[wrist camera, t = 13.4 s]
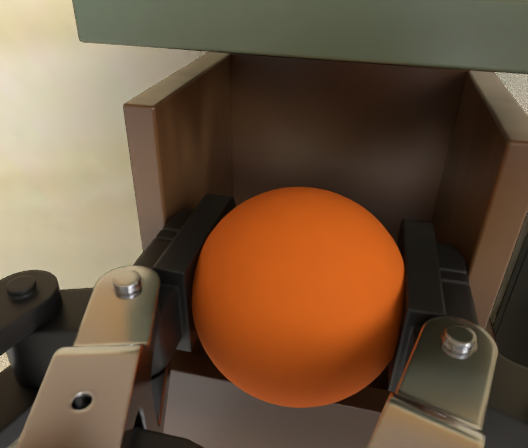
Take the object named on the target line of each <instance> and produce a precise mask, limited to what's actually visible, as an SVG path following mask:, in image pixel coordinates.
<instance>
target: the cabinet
mask: <svg viewBox="0 0 528 448" xmlns="http://www.w3.org/2000/svg"><path fill="white" fill-rule="evenodd" d="M485 331H486V332H488V333H489V335H490V336H491V337H492V338H493V340H494V341H495V343H496V345H497V342H496V338H495V334H494V331H493V327H492V323H491V319H490V317H489V320H488V323H487V326H486V328H485ZM497 349H498V346H497ZM498 353H499V350H498ZM170 366H171V373H170V381H169V390H168V398H167V406H166V414H165V422H164V431H163V433H165V434H169V435H173V436H178V437H182V438H187V439H189V440H191V441H193V442H195V443H196V444H198V445H200V446H202V447H204V448H367V445H368V443H369V441H370V438H371V436H372V434H373V431H374V429H375V427H376V424H377V422H378V420H379V417H380V415H381V413H382V410H383V408H384V406H385V403H386V401H387V399H388V397H389V395H390V393H391V391H388V390H384V389H379V388H374V387H369V386H366V387H365V388H363V389H362V390H360V391H359V392H357V393H355V394H353V395H351V396H349V397H347V398H345V399H343V400H341V401H338V402H335V403H332V404H328V405H323V406H317V407H308V408H295V407H285V406H279V405H275V404H271V403H268V402H265V401H262V400H260V399H258V398H255V397H253V396H251V395H250V394H248V393H246V392H244V391H243V390H241V389H240V388H238V387H237V386H236V385H235V384H233V383H232V382H231V381H230V380H228V379H227V378H226V377H225V376H224V375H223V374H222V373H221V372H220V371H219V370H218V368H217V367H216V366H215V365H214V363H213V362H212V360H211V359H210V357H209V356H208V355H205V354H200V353H195V352H188V351H183V350H178V349H176V350H175V352H174V354H173V356H172V358H171V360H170Z"/></svg>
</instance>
